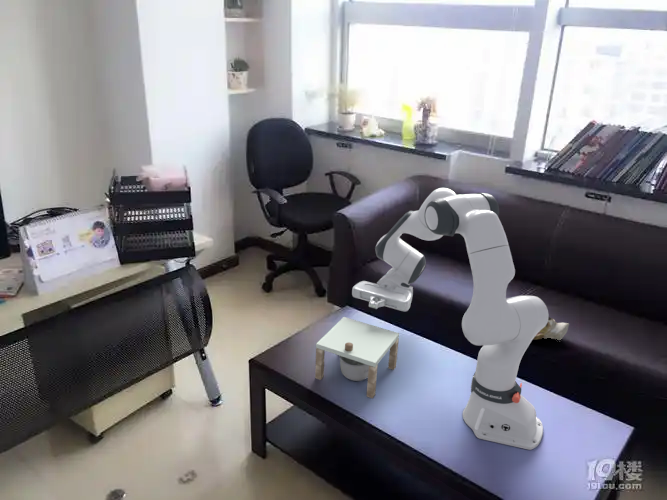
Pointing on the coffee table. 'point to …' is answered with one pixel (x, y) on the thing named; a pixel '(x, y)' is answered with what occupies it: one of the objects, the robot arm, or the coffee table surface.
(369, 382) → the stand
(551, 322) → the ceramic sculpture
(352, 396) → the coffee table surface
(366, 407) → the coffee table surface
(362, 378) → the teacup
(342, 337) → the lid
